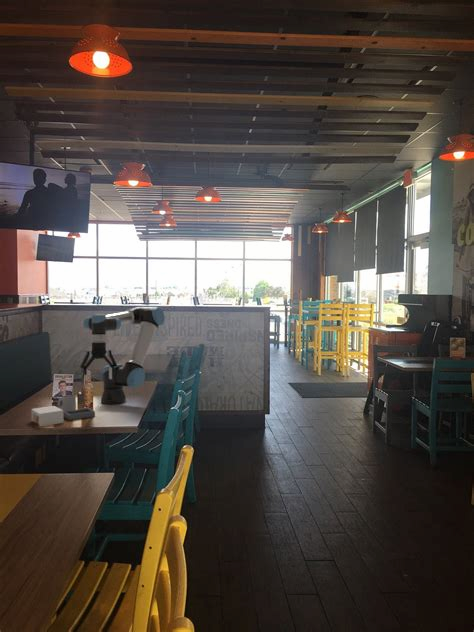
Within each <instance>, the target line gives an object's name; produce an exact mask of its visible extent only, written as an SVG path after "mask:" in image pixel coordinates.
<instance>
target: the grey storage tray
mask: <svg viewBox="0 0 474 632" xmlns="http://www.w3.org/2000/svg"><path fill="white" fill-rule="evenodd" d="M94 417H96V411H95V410H93V409H91V408H89V407H87V408H79V409H76V410H72V411H65V412H63V419H66V420H67V421H69V422H71V421H76V420H83V419H89V418H94Z"/></svg>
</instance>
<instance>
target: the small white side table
mask: <svg viewBox="0 0 474 632" xmlns="http://www.w3.org/2000/svg"><path fill="white" fill-rule="evenodd" d="M31 422H33V423H35V424H37V425H38V426H39V427H44V426H52V425H57V424H63V423H64V417H63V410H62V409H60V408H59V407H58V406H56V405H51V406H44V407H36V408H31Z"/></svg>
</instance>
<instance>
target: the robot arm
mask: <svg viewBox="0 0 474 632" xmlns="http://www.w3.org/2000/svg"><path fill="white" fill-rule="evenodd" d="M165 317H166V316H165V312H164V310H163V309H162V308H161V307H159V306H136V307H132V308H128V309H125V310H124V311H120V312H115V313H110V314H104V313H103V314H96V313H95V314H93V315H92V316H88V317H85V318H84V320H83V327H84V329H86V330H90V331H91V342H92V343H91V351H90V350H86V351H85V356H84V357H83V359H82V362H81V364H80V366H79V368H80V369H83V375H84V377H85V378H84V380H85V382H89V369H88V368H89V366H90V365H91V364H92V363H93V361H94V360H95V359H96V360H97V359H103V360H104V361H105V363H106V364H107V365H105V366H104V367H103V368H102V369H103V370H102V371H103V372H102V379H103V383H102V384H103V392H102V395H101V398H100V403H101V404H104V405H117V404H122V403H125V401H126V402H127V398H126V394H125V392H124V387H128V388H137V387H140V386H141V385H142V384H143V383H144V382H145V378H146V375H145V374H146V371H145V368H144V366H143V364H144V361H145V359H146V356H147V353H148V350H149V347H150V344H151V341H152V339H153V336H154V333H155V332H156V331H157V330H158V328H159V326H162V325H163V324H164V322H165V319H166V318H165ZM125 324H126V325H140V329H139V332H138V334H137V338H136V339H135V342H134V346H133V348H132V352H131V354H130V357H129V359H128V360H127V361H126V362H125V363H124V366H123V363H117V362H116V360H115V358H114V356H113V353H112V350H110V349H106V347H107V345H106V344H107V342H106V340H107V339H106V337H107V336H106V334H107V333H106V332H108V331H111V332H112V331H114V332H115V331H118V330H119V329H120V328H121V327H122V325H125ZM106 354H107V355H108V357H109V358H108V357H107V356H106ZM90 355H92V356H91V357H90ZM109 359H110V360H109Z"/></svg>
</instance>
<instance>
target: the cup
mask: <svg viewBox="0 0 474 632" xmlns="http://www.w3.org/2000/svg"><path fill="white" fill-rule="evenodd" d="M76 398H77V397H76V395H75V394H67V395H63V396H62V397H60V398H59V399H58V400H57V407H58V408H60V409H62V410H63V412H65V411H72V410H77V406H76V403H77V402H76Z"/></svg>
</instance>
